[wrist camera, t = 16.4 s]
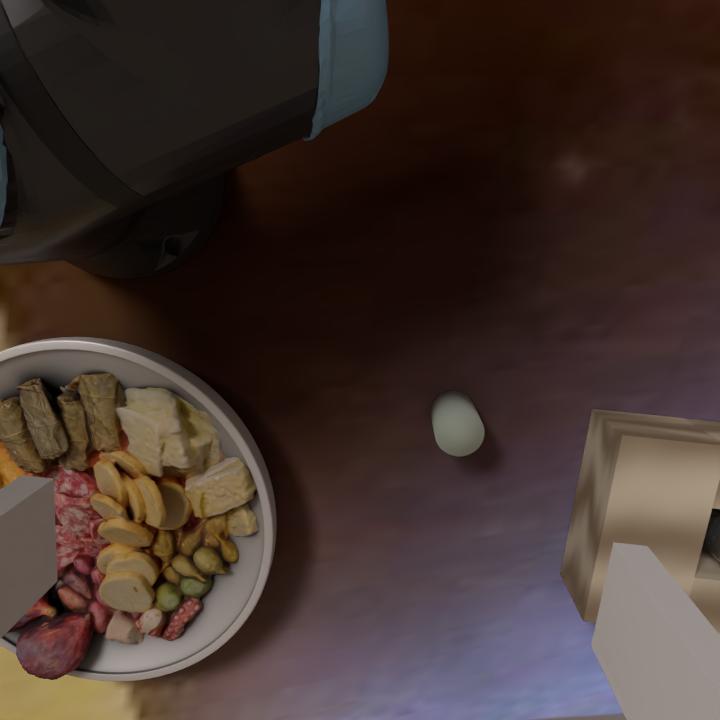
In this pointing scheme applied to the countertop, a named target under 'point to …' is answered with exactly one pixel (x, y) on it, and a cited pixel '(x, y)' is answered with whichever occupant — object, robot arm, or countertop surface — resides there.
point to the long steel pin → (713, 534)
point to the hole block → (645, 504)
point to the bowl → (133, 509)
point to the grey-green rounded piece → (456, 424)
